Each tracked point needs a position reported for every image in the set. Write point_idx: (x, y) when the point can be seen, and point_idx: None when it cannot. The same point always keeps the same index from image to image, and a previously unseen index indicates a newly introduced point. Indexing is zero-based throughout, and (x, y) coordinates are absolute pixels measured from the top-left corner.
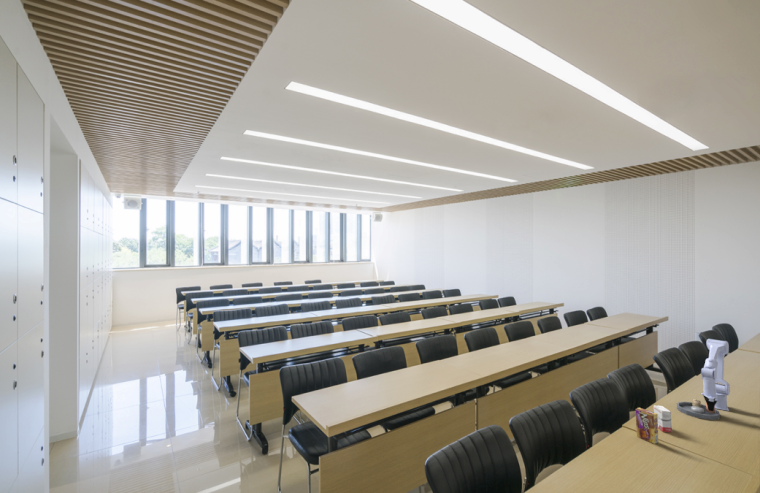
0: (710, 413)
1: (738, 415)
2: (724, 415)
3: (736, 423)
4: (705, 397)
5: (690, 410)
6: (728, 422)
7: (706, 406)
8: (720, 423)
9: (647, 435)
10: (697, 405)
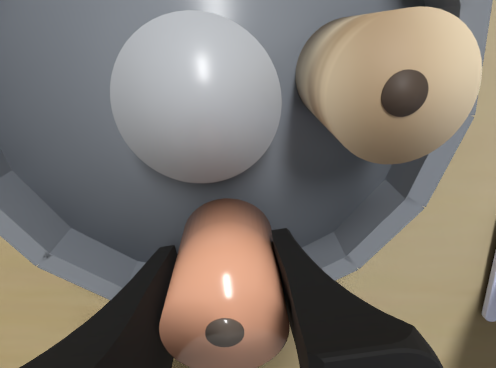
0: None
1: None
2: None
3: (173, 363)
4: (305, 364)
5: (159, 4)
6: None
7: (196, 247)
8: (40, 290)
9: None
10: (308, 100)
